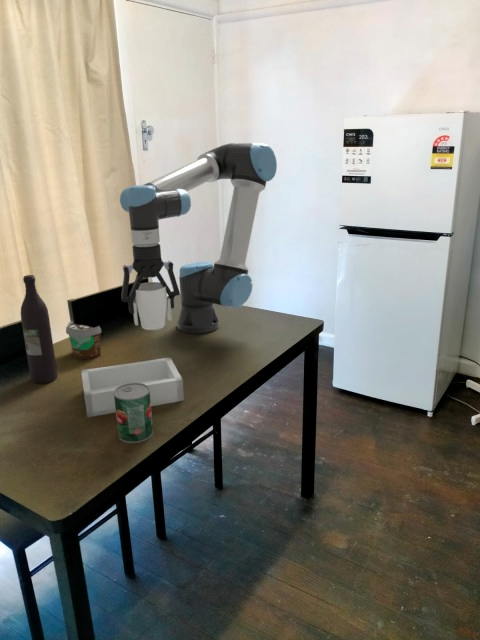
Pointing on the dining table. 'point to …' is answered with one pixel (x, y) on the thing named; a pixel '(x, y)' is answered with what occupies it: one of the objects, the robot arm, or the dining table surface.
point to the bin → (151, 373)
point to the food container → (84, 340)
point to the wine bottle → (37, 335)
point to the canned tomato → (133, 412)
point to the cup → (151, 305)
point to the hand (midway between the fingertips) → (153, 321)
